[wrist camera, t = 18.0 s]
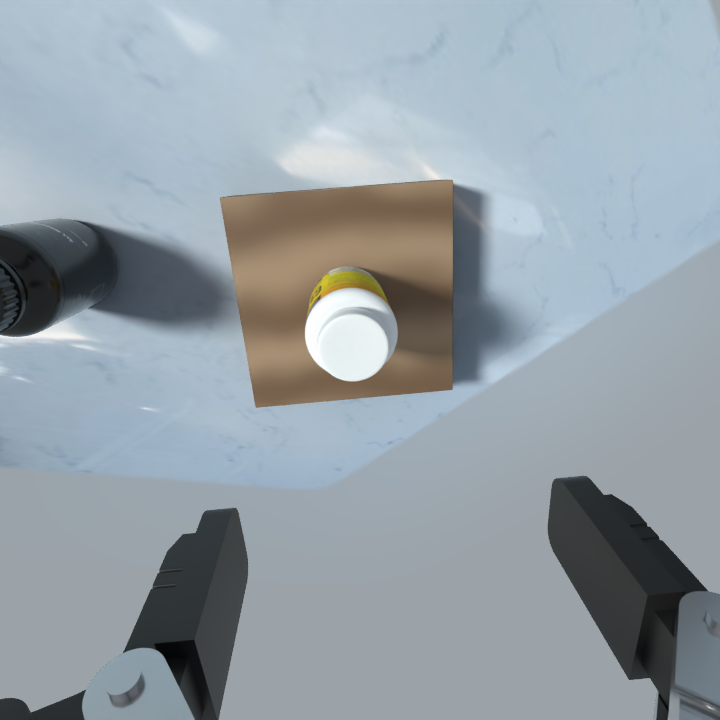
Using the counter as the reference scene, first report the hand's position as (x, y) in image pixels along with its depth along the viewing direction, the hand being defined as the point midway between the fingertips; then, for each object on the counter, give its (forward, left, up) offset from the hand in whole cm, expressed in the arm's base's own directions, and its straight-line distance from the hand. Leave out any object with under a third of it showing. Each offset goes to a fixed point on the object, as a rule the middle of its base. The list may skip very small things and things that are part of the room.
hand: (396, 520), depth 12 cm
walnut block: (+1, -1, -29) cm, 29 cm away
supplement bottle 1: (-3, -22, -29) cm, 36 cm away
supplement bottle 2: (+1, 0, -25) cm, 25 cm away
